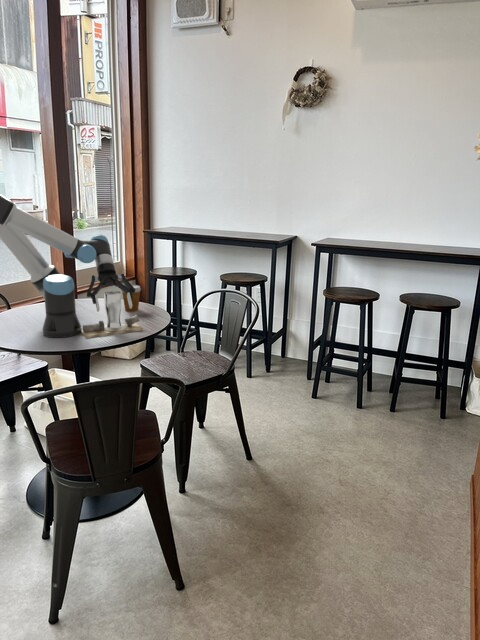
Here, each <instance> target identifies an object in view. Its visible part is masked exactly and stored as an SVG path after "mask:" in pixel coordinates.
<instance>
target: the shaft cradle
mask: <svg viewBox="0 0 480 640" xmlns="http://www.w3.org/2000/svg"><path fill="white" fill-rule="evenodd" d="M124 322H125V323H121V327H120V328H117V329H109V328H107V324H106V325H105V323H104V320H99V321H98V322H97V323H91V324H83V325H82V328H81V333H80V334H81V335H82V336H83V337H85V339H88V338H96V337H105V336H111V335H117V334H125V333H132V332H139V331H141V332H142V331H143V329H144V328H143V327H142V326H140V325H139V324H137V323H138V322H140V317H139V316H138V315H137V314H134V315H133V316H131V317H127V318H126V317H125V319H124Z"/></svg>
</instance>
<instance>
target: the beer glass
mask: <svg viewBox="0 0 480 640" xmlns="http://www.w3.org/2000/svg"><path fill="white" fill-rule="evenodd" d="M121 294H122V293H121V291H119V290H109V291H105V292H104V293H103V295H104V296H103V297H104V298H103V299H104V301H103V303H104V310H105V314H106V325H107V328H109V329H117V328H120V327H121V324H122V323H121V312H122V295H121Z"/></svg>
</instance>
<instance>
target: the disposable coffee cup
mask: <svg viewBox="0 0 480 640" xmlns="http://www.w3.org/2000/svg"><path fill="white" fill-rule="evenodd" d="M131 285H132V286H133V287H134V288H135V293H134V294H132V296H133V300H132V305H133V306H132V309H130V307H129V303H128V299H127V293H125V292H124V291H122V290H121V292H122V293H121V294H122V299H123V306H124V310H125V312H128V313H135V312H138V311H139V306H140V305H139V304H140V295H141V290H142V288H141V286H140V285H137V284H131Z"/></svg>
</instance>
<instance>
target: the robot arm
mask: <svg viewBox="0 0 480 640" xmlns="http://www.w3.org/2000/svg"><path fill="white" fill-rule="evenodd" d="M28 236H30V237H31V238H34V239H36V240H37V241H39V242H42V243H44V244H46V245H48V246H49V247H52V248H54V249H56V250H57V251H60V252H62V253H63V254H64V256H65V258H68V259H69V258H70V259H76V260H77V261H80V263H84V264H91V263H93V262H95V266H96V267H95V268H96V272H97V275H98V276H95V275H94V274H93V275H92V274H91V282H90V284H89V287H88V289H87V292H86V297H87V298H91V302H92V304H93V305H95V308H96V312H98V313H99V312H100V309H101V308H100V303H99V298H98V295H97V294H98V293H99V292H100V291H101V289H102V288H104V286H105V287H109V286H110V287H113V286H114V287H116V288H119V289H120V290H121V292H122V291H124V292H125V293H127V299H128V303H129V307H130V309H132V306H133V305H132V300H133V296H132V294H134V293H135V288H134V287H133V286H132V285H133V284H132V283H130V281H129V280H128V279H127V278H126V277H125V274H124V273H121V274H117V271H116V267H115V264H114V263H115V262H114V259H113V255H112V251H111V246H110V241H109V240H108V238H107V236H105V235H103V234H97V235H94V236H93V237H91V239H90V240H82V239H78V238H77V237H74V236H73V235H71V234H69V233H67V232H65V231H64V230H62V229H60V228H58V227H56V226H54V225H52V224H51V223H48V222H46V221H44V220H42V219H40V218H39V217H37V216H34V215H33V214H31V213H29V212H27V211H25V210H24V209H22V208H20V207H18V206H17V205H16V203H15V202H14V201H13V200H10V199H9V198H7V197H5V196H4V195H2V194H1V193H0V240H1V241H2V242H3V243H4V244H5V246H6V248H7V249H8V250H9V251H10V252H11V253H12V254H13V256H14V257H15V258H16V259H17V261H18V262H19V264H20V265H22V267H23V268H24V269H25V270H26V272H27V273H28V274H29V276H30V282H31V284H33V286H34V287H35V289H36V290H37V291H38V293H39V295H40V296H42V298H43V299H44V306H45V307H44V308H45V309H44V310H45V319H44V321H43V326H42V335H43V336H45V337H48V338H61V339H62V338H67V337H68V338H69V337H73V336H77V335H79V334H81V329H82V325H81V323H80V320H79V317H78V315H77V310H76V309H77V308H76V296H75V294H76V293H75V288H76V287H75V283H74V279H73V278H72V277H71V276H70V275H66V274H62V273H60V271H59V270H58V269H57V268H56V266H55V265H53V264H49V263H48V262H47V260H46V259H45V258H44V257H43V255H42V254H41V252H40V251H39V250H38V249H37V247H36V246H35V245H34V244H33V243H32V241H31V240H30V239H29V238H28ZM97 281H99V283H98V285H97V286H96V287H95V289H94V286H95V283H96V282H97ZM120 281H121V282H120ZM93 289H94V290H93Z"/></svg>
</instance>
